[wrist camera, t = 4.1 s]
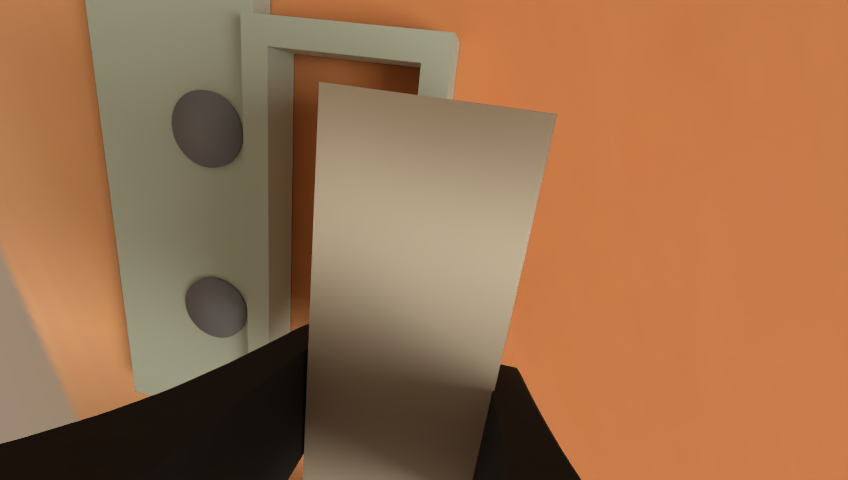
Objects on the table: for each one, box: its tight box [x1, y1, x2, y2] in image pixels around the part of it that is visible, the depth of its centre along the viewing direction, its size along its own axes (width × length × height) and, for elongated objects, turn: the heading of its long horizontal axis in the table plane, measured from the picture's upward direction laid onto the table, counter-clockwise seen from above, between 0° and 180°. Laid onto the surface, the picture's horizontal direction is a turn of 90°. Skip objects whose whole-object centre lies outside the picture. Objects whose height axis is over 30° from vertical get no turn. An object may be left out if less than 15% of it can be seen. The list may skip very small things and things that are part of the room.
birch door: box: [303, 82, 557, 480], centre depth 11 cm, size 12×4×6 cm, turn 173°
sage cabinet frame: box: [85, 0, 460, 395], centre depth 18 cm, size 20×14×2 cm
